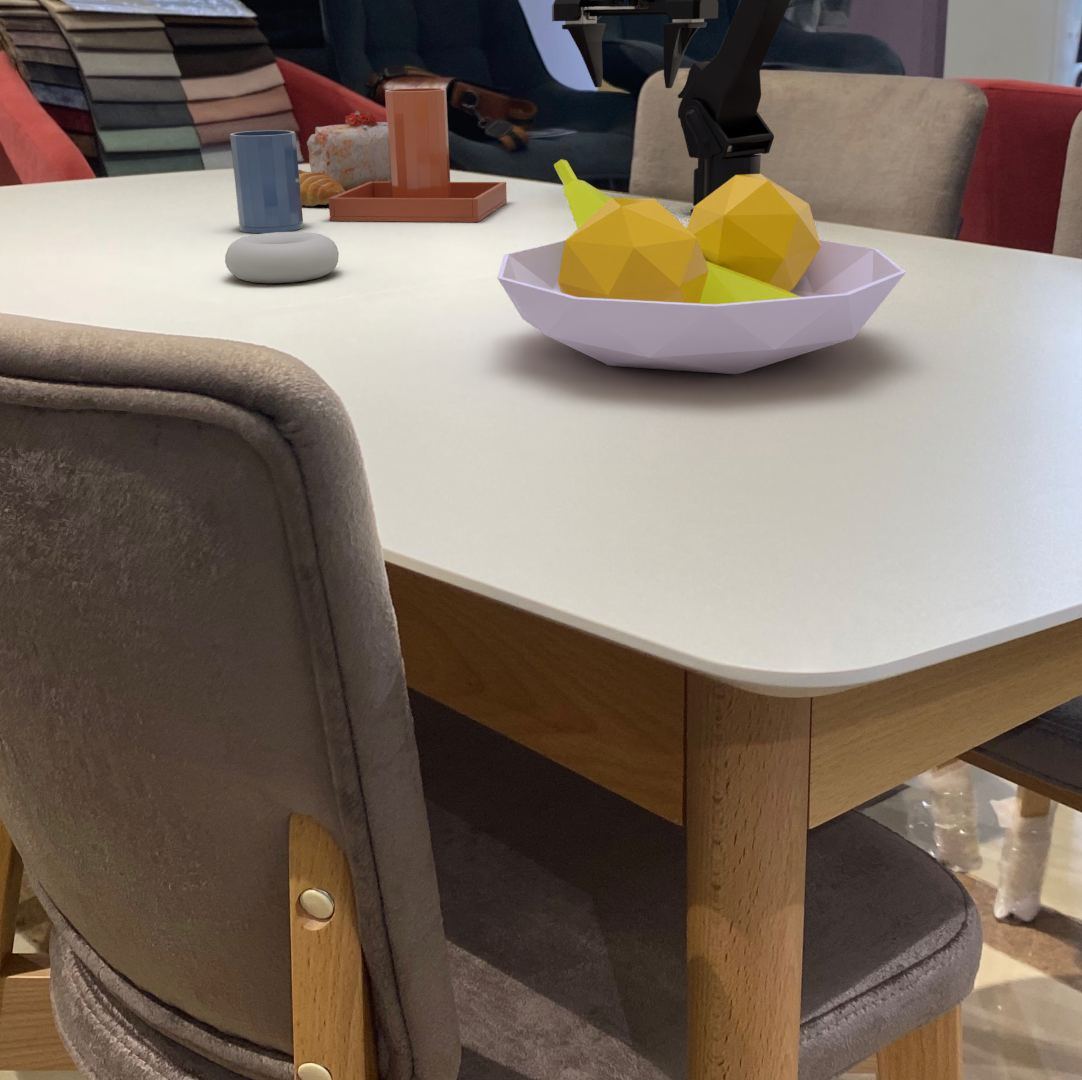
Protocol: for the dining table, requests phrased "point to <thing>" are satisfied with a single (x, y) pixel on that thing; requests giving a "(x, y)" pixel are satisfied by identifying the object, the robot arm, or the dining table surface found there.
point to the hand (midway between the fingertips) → (633, 87)
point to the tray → (418, 204)
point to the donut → (281, 257)
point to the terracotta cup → (418, 143)
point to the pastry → (317, 188)
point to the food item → (351, 151)
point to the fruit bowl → (696, 280)
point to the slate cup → (267, 181)
